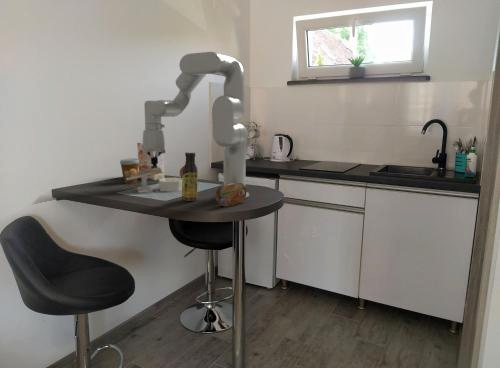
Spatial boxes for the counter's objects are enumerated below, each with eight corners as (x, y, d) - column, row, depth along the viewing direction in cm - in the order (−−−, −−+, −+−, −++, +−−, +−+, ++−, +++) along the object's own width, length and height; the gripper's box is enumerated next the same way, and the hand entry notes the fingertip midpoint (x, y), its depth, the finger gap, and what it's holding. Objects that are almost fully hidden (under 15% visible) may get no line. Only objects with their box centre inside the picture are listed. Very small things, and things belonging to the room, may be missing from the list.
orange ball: (137, 175, 167) (135, 168, 166) (130, 176, 166) (128, 170, 165) (137, 174, 170) (135, 167, 169) (130, 175, 169) (128, 169, 168)
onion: (195, 180, 200) (195, 161, 198) (200, 183, 192) (199, 164, 190) (178, 181, 197) (177, 162, 195) (181, 184, 188) (181, 164, 186)
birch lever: (162, 172, 170) (160, 165, 169) (126, 180, 165) (124, 173, 164) (158, 168, 181) (157, 162, 181) (125, 175, 177) (123, 169, 176)
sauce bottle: (184, 202, 149) (183, 153, 145) (180, 199, 154) (179, 151, 151) (199, 201, 151) (199, 152, 148) (195, 198, 157) (195, 151, 153)
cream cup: (185, 190, 172) (185, 181, 171) (161, 192, 168) (160, 182, 167) (181, 186, 183) (181, 177, 182) (158, 187, 179) (157, 178, 178)
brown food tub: (117, 182, 190) (115, 159, 188) (132, 180, 198) (131, 157, 196) (128, 184, 185) (127, 161, 183) (144, 182, 193) (143, 159, 190)
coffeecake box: (138, 176, 209) (136, 142, 205) (149, 175, 214) (147, 141, 210) (154, 180, 199) (152, 143, 196) (164, 178, 205) (163, 143, 201)
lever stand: (152, 192, 168) (151, 173, 166) (138, 192, 166) (137, 174, 164) (150, 188, 176) (149, 171, 175) (137, 189, 174) (136, 171, 173)
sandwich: (219, 208, 140) (219, 186, 139) (214, 207, 142) (214, 185, 141) (246, 202, 151) (247, 181, 149) (241, 200, 153) (241, 180, 152)
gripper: (168, 127, 181) (169, 164, 185) (136, 126, 176) (137, 164, 180) (170, 127, 174) (171, 166, 178) (137, 127, 169) (139, 167, 173)
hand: (154, 165), depth 179 cm, fingers closed
